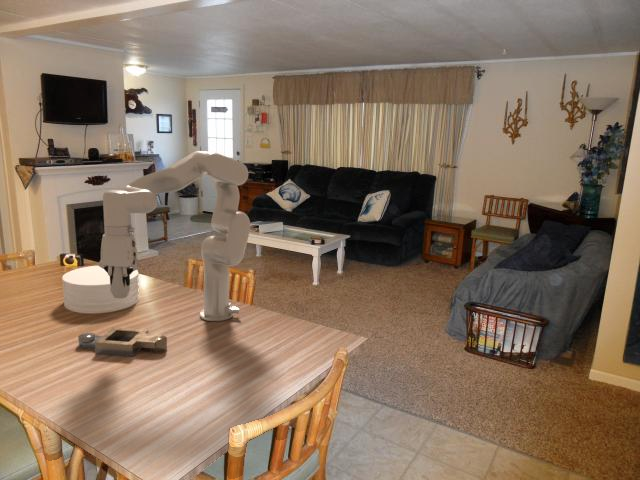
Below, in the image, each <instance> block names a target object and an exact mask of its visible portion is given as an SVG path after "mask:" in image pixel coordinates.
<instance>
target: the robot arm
mask: <svg viewBox="0 0 640 480" xmlns="http://www.w3.org/2000/svg"><path fill="white" fill-rule="evenodd" d="M202 177H208V178H210V179H211V180H212V182H213V184H214V186H215V188H216V199H215V203H214V208H213V213H212V216H211V217H212V218H211V221H210V224H211V228H212V230H213V231H215V232H216V233H219V234H223V235H226V237H224V236H219V235H210V236H209V235H208V236H207V237H206V238H205V239H203V241H202V243H201V246H200V253H201V259H202V263H203V309H202V310H201V311H200V312H199V318H201V319H202V320H205V321H208V322H222V321H223V322H224V321H226V320H228V319H231V318H232V317H233V315H234V314H235V315H237V314H238V315H240V312H241V310H240V308H239V307H238V306H232V302H230V269H229V267H234V266H237V265H239V264H240V263H241V262H242V260H243V258H244V257H245V253H246V252H245V251H246V248H247V244H248V241H249V235H250V230H251V221H250V218H249V216H248V215H247V214H246V212H244V211H240V210H239V204H240V196H241V195H240V190H239V187H238V186H242V185H244V184H245V183H246V182H247V180H248V178H249V170H248V167H247V166H246V165H245V164H244V163H243V162H241V161H238V160H236V159H233V158H231V157H227V156H226V155H223V154H220V153H218V152H214V151H204V150H198V151H193V152H192V153H191V152H190V154H188V155H186V156H185V157H183V158H181V159H180V160H177V161H176V162H175V163H173V164H171V165H169V166H168V167H166V168H163V169H159V170H157V171H154V172H152V173H148V174H146V175H143V176H140V177H139V178H137V179H135V180H133V181H132V182H130V183H128V184H126V185H125V186H123V187H122V188H121V189H112V190H111V189H109V190H106V191H104V192H103V194H102V203H103V204H102V206H103V207H102V209H103V224H104V225H103V226H104V227H103V228H104V229H103V230H104V233H103V234H102V236H101V237H102V238H101V246H100V260H99V262H98V264H97V266H99V267H101V268H103V269H104V270H105V271H106V272H107V273H108V275H109V276H110V284H111V285H112V280H113V271H114V267H123V274H124V277H122V279H123V284H124V287H125V280H126V285H127V286H129V285H130V274H131V273H132V272H133V271H135V270H137V271H138V270H139V269H140V268H141V264H140V263H139V253H138V249H137V248H138V247H137V241H136V238H135V234H134V233H135V232H136V228H135V227H132V225H131V220H132V219H131V214H149V213H151V212H153V211H154V210H156V208H157V207H158V201H159V200H158V197H157V195H159V194H164V193H165V194H166V193H167V194H168V193H173V192H174V193H175V192H179V191H181V190H183V189H185V188H186V187H188V186H189V185H191V184H192V183H194V182H195V181H197V180H199V179H200V178H202ZM131 267H132V268H131Z"/></svg>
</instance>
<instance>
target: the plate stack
mask: <svg viewBox="0 0 640 480" xmlns="http://www.w3.org/2000/svg"><path fill="white" fill-rule="evenodd" d="M132 267H133V266H131V268H132ZM61 279H62V289H63V290H62V294H63V306H64V308H65V309H66V310H69V311H71V312H75V313H79V314H103V313H111V312H116V311H121V310H124V309H128V308H129V307H132V306H134V305H136V304H137V303H139V301H140V284H139V282H140V281H139V271H138V269H137V270H135V271H133V272H132V273H131V274H130V291H129V294H128V296H127V297H126V298H120V299H119V298H114V296H113V294H112V293H111V291H110V289H111V284H110V276H109V275H108V273H107V272H106V271H105V270H104V269H103V268H101V267H99V266H98V265H91V266H90V265H89V266H85V267H79V268H76V269H73V270H70V271H68V272H66V273H64V274H63V275H62V276H61Z"/></svg>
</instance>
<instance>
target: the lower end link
mask: <svg viewBox="0 0 640 480" xmlns="http://www.w3.org/2000/svg"><path fill="white" fill-rule="evenodd" d="M102 336H103V335H99V334H97V335H96V334H95V333H93V332H86V333H82V334H79V335H78V337H77V338H78V347H79V348H81V349H84V350H94V351H95V355H103V356H115V357H128V358H133V357H134V356H136V354H137V353H139V351H140V350H141V349H142V348H143V347H136V348H135V349H134V350H133V351H125V350H112V349H98V348H95V342H96V341H97V340H98V339H100V338H101V337H102ZM133 338H134V337H129V336H116V337H115V338H113V339H112V340H111V341H123V342H129V341H130V340H132V339H133Z"/></svg>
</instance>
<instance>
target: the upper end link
mask: <svg viewBox="0 0 640 480" xmlns="http://www.w3.org/2000/svg"><path fill="white" fill-rule="evenodd" d="M101 336H102V337H101V338H100V339H98V340H97V341H96V342H95V348H98V349H112V350H125V351H133V350H134V349H135V348H136V347H142V348H144V349H145V348H146V349H150V352H151V353H152V354H163V353H166V352H167V351H168V337H167V336H166V335H163V334H158V333H157V334H156V333H149V329H142V328H141V329H139V328H129V327H116V326H113V327H112V328H111V329H109V330H108V331H107V332H106V333H104V334H103V335H101ZM116 336H129V337H134V338H133V339H132V340H130V341H129V342H123V341H111V340H112V339H113V338H115V337H116Z"/></svg>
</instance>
